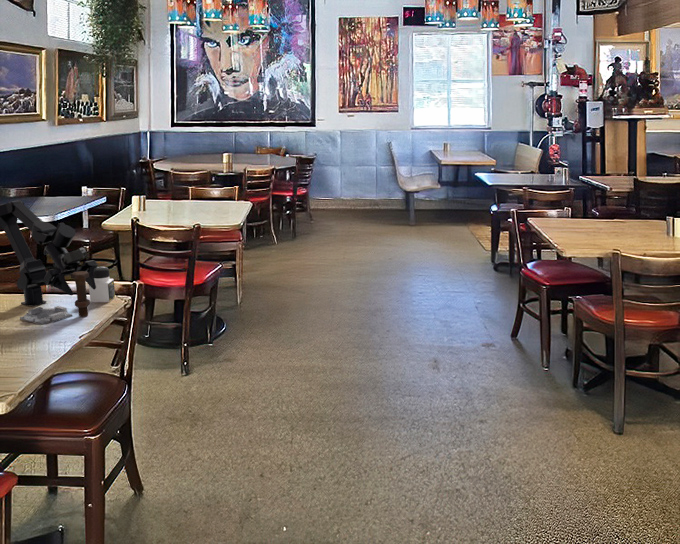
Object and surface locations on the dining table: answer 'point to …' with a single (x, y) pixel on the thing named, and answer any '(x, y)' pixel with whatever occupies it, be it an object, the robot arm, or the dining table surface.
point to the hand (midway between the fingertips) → (83, 291)
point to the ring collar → (46, 315)
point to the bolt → (81, 292)
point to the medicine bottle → (102, 286)
